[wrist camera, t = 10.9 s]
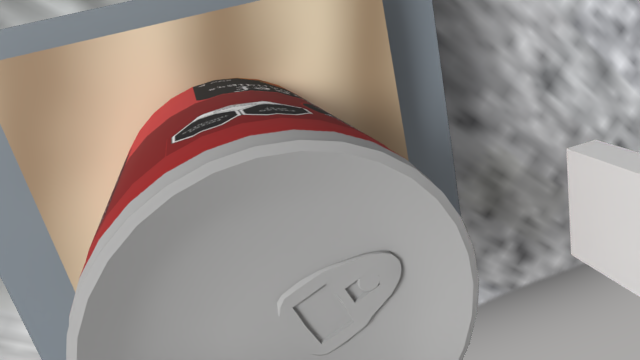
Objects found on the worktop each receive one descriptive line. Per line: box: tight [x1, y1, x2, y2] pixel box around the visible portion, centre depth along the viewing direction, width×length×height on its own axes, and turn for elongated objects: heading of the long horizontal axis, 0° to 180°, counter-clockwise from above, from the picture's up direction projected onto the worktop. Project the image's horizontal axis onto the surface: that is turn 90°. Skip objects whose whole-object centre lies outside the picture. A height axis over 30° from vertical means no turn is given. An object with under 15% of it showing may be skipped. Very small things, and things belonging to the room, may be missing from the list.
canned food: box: [66, 78, 479, 360], centre depth 15 cm, size 8×8×11 cm
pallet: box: [0, 0, 409, 292], centre depth 21 cm, size 14×12×2 cm
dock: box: [0, 0, 461, 360], centre depth 24 cm, size 20×15×6 cm
